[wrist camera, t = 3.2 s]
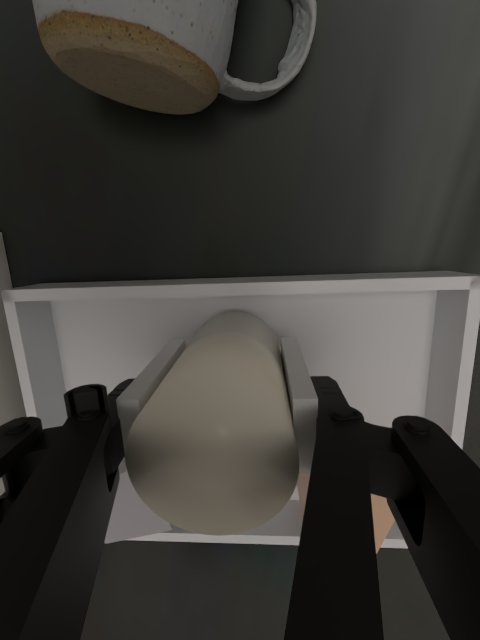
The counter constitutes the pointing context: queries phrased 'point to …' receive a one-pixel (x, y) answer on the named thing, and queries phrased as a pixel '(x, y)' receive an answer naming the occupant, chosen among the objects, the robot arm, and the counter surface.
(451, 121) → the counter surface
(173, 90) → the ceramic mug
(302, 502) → the orange cube
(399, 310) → the tray
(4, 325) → the bin
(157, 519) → the gray cube
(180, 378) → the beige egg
